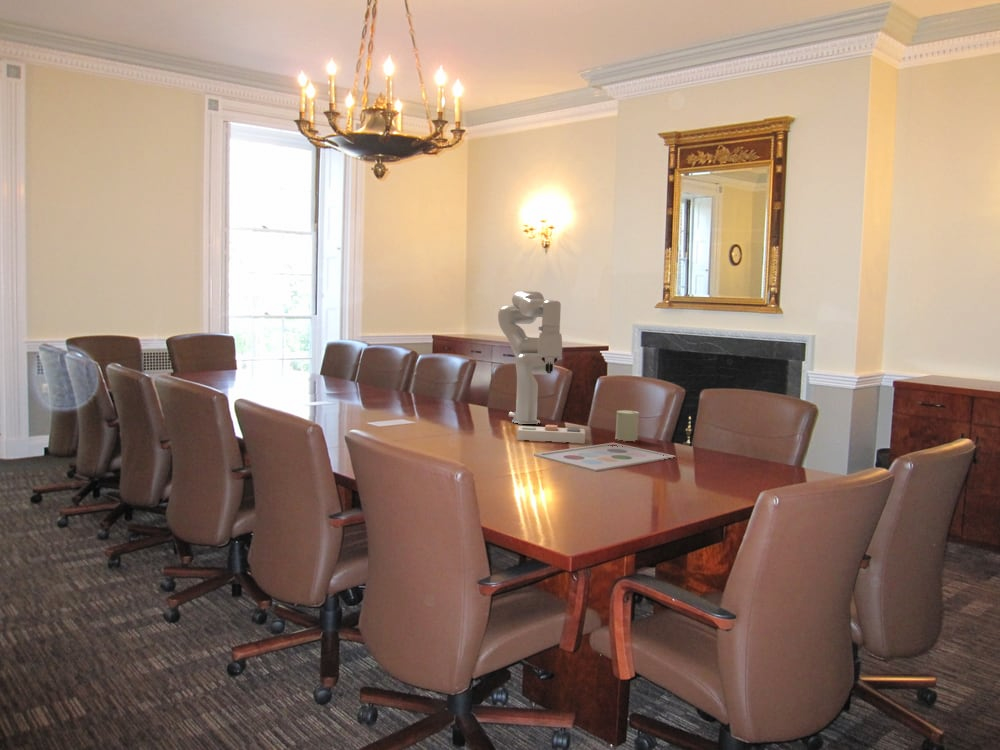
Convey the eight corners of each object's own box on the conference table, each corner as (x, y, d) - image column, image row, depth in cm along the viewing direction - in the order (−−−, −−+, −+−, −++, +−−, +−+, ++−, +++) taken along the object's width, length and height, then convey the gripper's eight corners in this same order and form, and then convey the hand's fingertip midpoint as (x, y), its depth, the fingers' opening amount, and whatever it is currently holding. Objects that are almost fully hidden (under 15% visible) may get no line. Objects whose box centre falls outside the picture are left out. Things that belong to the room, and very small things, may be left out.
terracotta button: (545, 435, 337) (545, 426, 336) (545, 433, 341) (545, 424, 341) (557, 435, 336) (557, 427, 336) (557, 433, 341) (557, 425, 341)
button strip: (517, 440, 335) (517, 430, 334) (518, 435, 345) (518, 425, 345) (584, 443, 333) (585, 433, 332) (584, 438, 344) (584, 428, 343)
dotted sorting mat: (533, 453, 305) (613, 442, 333) (533, 457, 305) (613, 445, 333) (595, 469, 282) (675, 455, 310) (595, 473, 282) (675, 459, 310)
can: (631, 442, 338) (633, 413, 337) (611, 439, 343) (612, 410, 342) (641, 439, 346) (642, 410, 345) (621, 436, 351) (622, 408, 350)
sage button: (522, 436, 337) (523, 428, 337) (523, 434, 342) (523, 426, 342) (534, 437, 337) (534, 428, 337) (535, 435, 342) (535, 426, 341)
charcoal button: (567, 438, 336) (567, 430, 336) (567, 436, 341) (567, 428, 341) (579, 439, 336) (579, 430, 335) (579, 437, 341) (579, 428, 340)
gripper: (532, 329, 349) (531, 373, 351) (568, 331, 348) (566, 374, 350) (533, 328, 357) (531, 371, 359) (568, 330, 356) (566, 373, 358)
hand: (549, 373), depth 354 cm, fingers closed
